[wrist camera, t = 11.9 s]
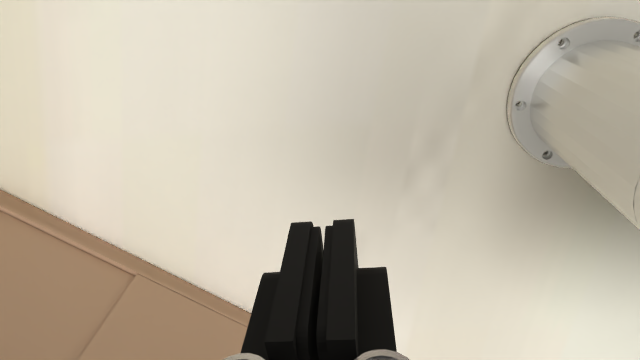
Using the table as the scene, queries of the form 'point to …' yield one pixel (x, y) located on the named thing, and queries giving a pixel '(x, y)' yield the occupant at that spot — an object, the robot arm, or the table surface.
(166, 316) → the box
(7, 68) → the table surface
